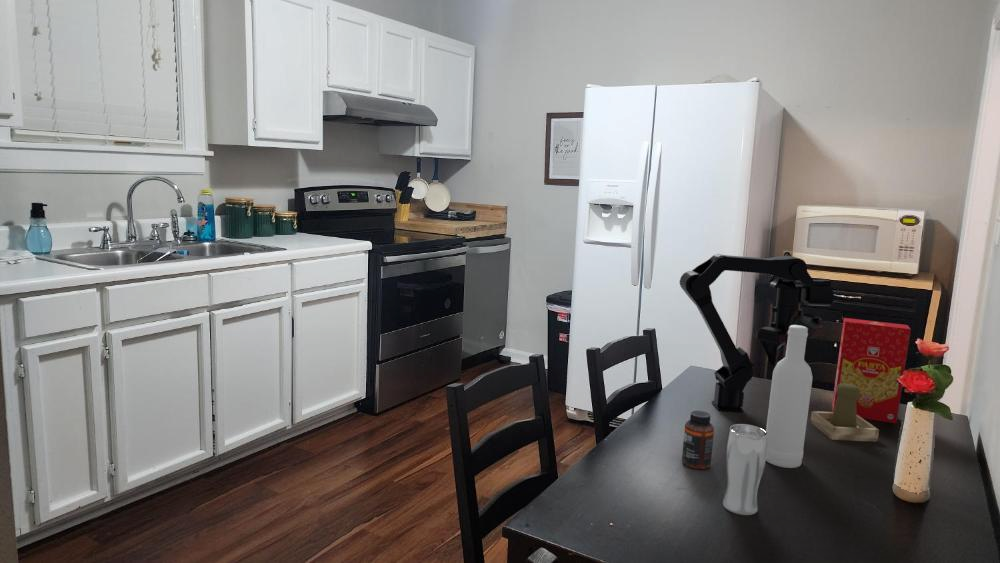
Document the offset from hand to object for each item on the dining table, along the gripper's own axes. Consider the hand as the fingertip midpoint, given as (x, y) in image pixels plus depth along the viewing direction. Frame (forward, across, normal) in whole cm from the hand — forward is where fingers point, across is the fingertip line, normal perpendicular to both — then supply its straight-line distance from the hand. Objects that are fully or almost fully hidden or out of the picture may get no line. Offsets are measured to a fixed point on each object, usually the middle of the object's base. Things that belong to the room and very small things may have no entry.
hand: (782, 362), depth 177 cm
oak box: (+13, -1, -17) cm, 22 cm away
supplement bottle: (+12, -48, -8) cm, 51 cm away
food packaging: (+14, +17, -15) cm, 26 cm away
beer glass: (+13, -58, -24) cm, 63 cm away
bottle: (+13, -30, -18) cm, 37 cm away
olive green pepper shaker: (+12, -1, -17) cm, 21 cm away
